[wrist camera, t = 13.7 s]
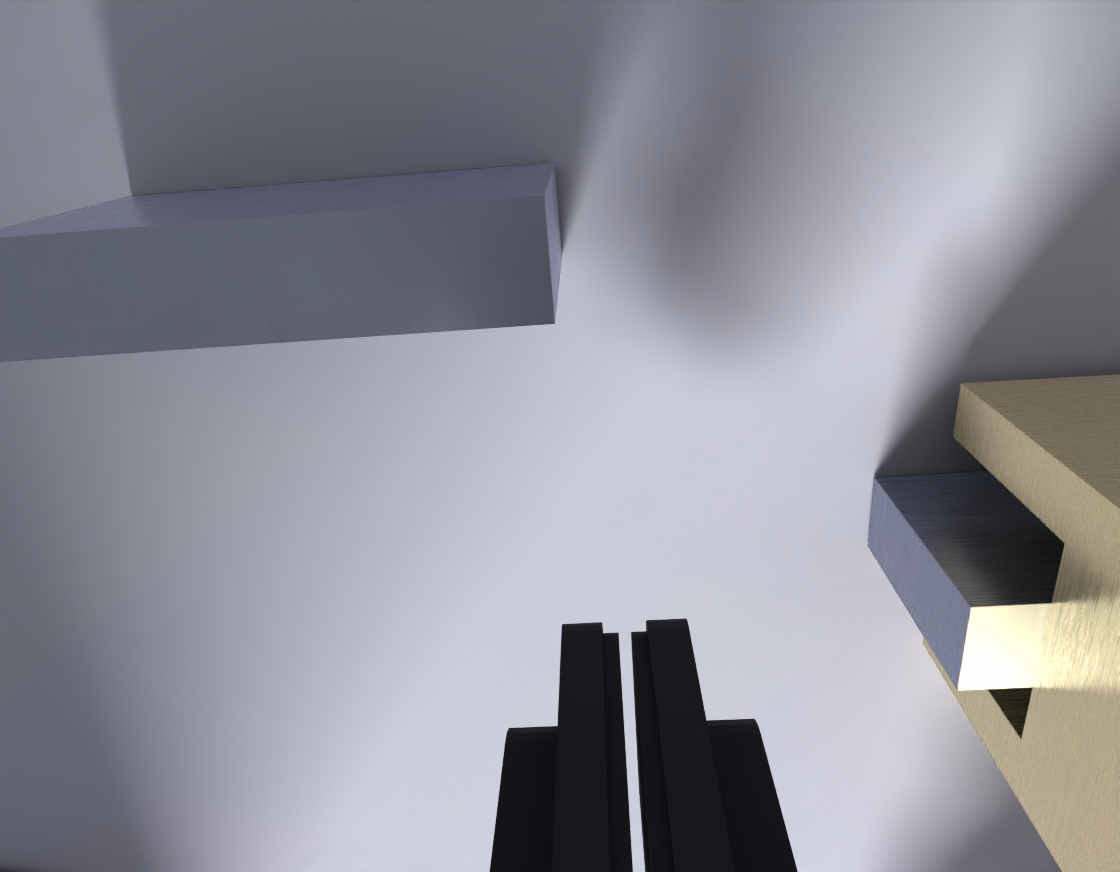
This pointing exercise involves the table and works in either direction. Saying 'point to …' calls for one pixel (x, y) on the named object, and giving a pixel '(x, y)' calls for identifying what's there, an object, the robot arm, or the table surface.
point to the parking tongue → (285, 264)
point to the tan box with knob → (1060, 608)
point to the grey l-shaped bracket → (968, 572)
